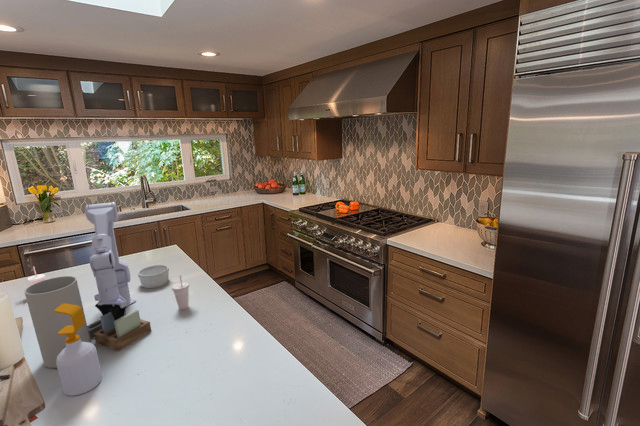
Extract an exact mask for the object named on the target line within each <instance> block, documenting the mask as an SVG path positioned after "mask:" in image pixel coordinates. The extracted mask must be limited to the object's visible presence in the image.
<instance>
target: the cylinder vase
mask: <svg viewBox="0 0 640 426" xmlns="http://www.w3.org/2000/svg"><path fill="white" fill-rule="evenodd" d="M23 291H24V296H25V298H26V302H27V306H28V311H29V313H30V317H31V322H32V326H33V329H34V332H35V337H36V341H37V342H38V347H39V350H40V354H41V358H42V361H43V365H44V366H45V367H46V368H49V369H57V365H56V359H57V356H58V355H59V353H60V352H61V351H62V350H63V349H65V348H66V343H65V340H66V339H67V338H68V336H65V335H58V332H59V331H60V330H61V329H63V328H64V327H65V326H68V325H73V322H72V318H71V317H70V315H67V314H62V313H57V312H55V309H56V308H58V307H59V306H60V305H62V304H64V303H67V304H72V305H78V306H80V307H81V308H82V310H83V315H84V319H85V324H84V325H83V326H82V327H81V328H80V329H79V330H77V333H75V334H76V335H80V339H81V342H89V343H92V342H91V341H92V340H91V338H90V336H89V332H88V327H87V326H88V324H87V319H86V314H85V310H84V306H83V302H82V297H81V293H80V289H79V284H78V280H77V277H76V276H73V275H64V276H63V275H62V276H56V277H51V278H46V279H45V280H43V281H40V282H38V283H35V284H33V285H31V286H30V285H29V286H28V287H26V288H25V290H23Z"/></svg>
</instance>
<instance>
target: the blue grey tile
mask: <svg viewBox="0 0 640 426" xmlns="http://www.w3.org/2000/svg"><path fill="white" fill-rule="evenodd" d="M125 315H127V312H126V310H125V313H124V316H125ZM99 320H101V325H102V329H103V334H105V333H107V332H108V331H110V330H112V329H114V328H115V325H114V321H115V320H114V317H113V315H112V313H111V312H109V313H107V314H105V315H101V316H99Z"/></svg>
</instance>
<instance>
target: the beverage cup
mask: <svg viewBox="0 0 640 426" xmlns="http://www.w3.org/2000/svg"><path fill="white" fill-rule="evenodd" d="M32 268H33V272H34V275H31V276H29V277H28V278H27V281H28V283H29V286H31V285H33V284H35V283H38V282H40V281H43V280H46V274H45V273H44V274H43V273H41V274H37V272H36V267H35V265H33V266H32Z"/></svg>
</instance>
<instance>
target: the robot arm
mask: <svg viewBox="0 0 640 426" xmlns="http://www.w3.org/2000/svg"><path fill="white" fill-rule="evenodd" d="M84 211H85V217H86V219H87V221H88V222H89V223H90V224H92V225H93V227H94V232H95V236H93V237H92V239H91V256H89V266H90V269H91V272H92V274H93V276H94V278H95V283H96V287H97V290H98V293H96V294H94V297H93V298H94V301H96V303H95V306H94V307H95V308H97V310H98V311H99V312H100V313H101V314H102V315H101V316H103V315H105V314H107V313H109V312H111V313H112V315H113V317H114V320H117V319H119V318H121V317H123V316H124V313H125V311H126V309H127V307H128V306H130V305H133V304H134V303H136V302H137V300H136V299H132V298H131V294H130V290H129V289H130V288H129V283H130V282H131V279H132V278H131V273H130V272H131V271H130V268H129V264H127V263H126V262H124V261H122V260H120V257H119V252H118V246H117V242H116V241H117V239H116V235H115V230H114V229H115V228H114V223H116V222H117V221H119V212H118V205H117V204H116V202H115V201H112V202H102V203H94V204H86V205H85V207H84ZM97 301H98V302H97Z"/></svg>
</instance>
